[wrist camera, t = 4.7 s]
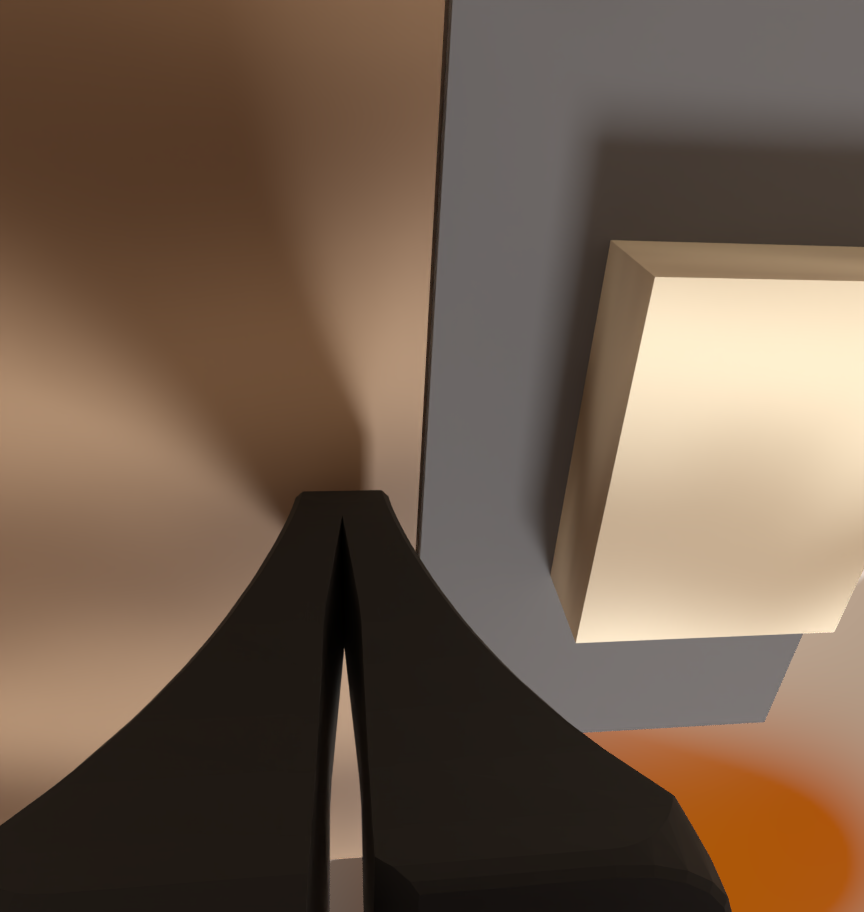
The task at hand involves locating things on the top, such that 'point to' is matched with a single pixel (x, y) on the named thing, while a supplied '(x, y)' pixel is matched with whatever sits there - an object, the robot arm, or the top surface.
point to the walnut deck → (196, 331)
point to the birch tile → (717, 445)
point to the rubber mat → (581, 279)
